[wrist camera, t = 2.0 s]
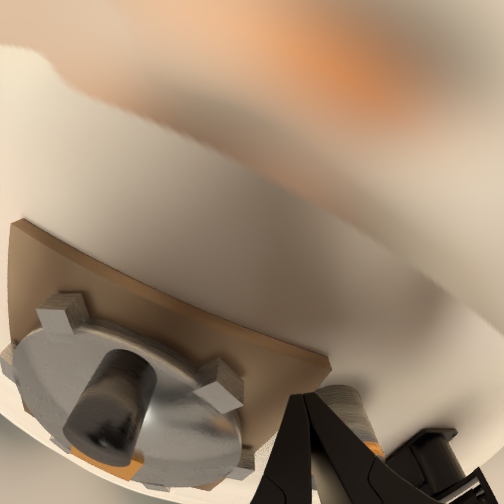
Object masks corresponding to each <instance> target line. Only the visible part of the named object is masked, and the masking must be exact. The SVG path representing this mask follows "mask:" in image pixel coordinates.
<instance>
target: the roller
mask: <svg viewBox="0 0 504 504" xmlns="http://www.w3.org/2000/svg"><path fill="white" fill-rule="evenodd" d="M314 392H316V393H317V394H318V395H319V396H320V397H321V398H322V400H323V401H324V402H325V403H326V404H327V405H328V406H329V407H330V408H331V409H332V410H333V411H334V412H335V413H336V414H337V415H338V417H339V418H340V419H341V420H342V421H343V422H344V423H345V424H346V425H347V426H348V427H349V428H350V429H351V430H352V431H353V432H354V433H355V434H356V435H357V436H358V437H359V438H360V439H361V440H362V441H363V442H364V443H365V444H366V445H367V446H368V447H369V448H370V449H371V450H372V451H373V452H374V453H375V454H376V456H378V457H379V458H380V459H381V460H382V461H383V462H384V463H385V461H386V460H385V456H384V454H383V451H382V449H381V446H380V445H379V444H378V441H377V438H376V436H375V433H374V431H373V428H372V426H371V423H370V421H369V418H368V416H367V413H366V411H365V408H364V406H363V403H362V401H361V398H360V396H359V394H358V392H357V391H356V390H355V389H354V388H352V387H349V386H345V385H333V386H328V387H324V388H321V389H318V390H316V391H314ZM311 472H312V469H311ZM312 489H313V490H317V487H316V484H315V480H314V476H313V473H312Z"/></svg>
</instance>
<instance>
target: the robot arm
mask: <svg viewBox="0 0 504 504" xmlns="http://www.w3.org/2000/svg"><path fill="white" fill-rule="evenodd" d="M457 433H458V432H457V430H456V429H425V430H423V431H421V432H420V433H419V434H417V435H416V436H415V437H414V438H413V439H412V440H411V441H410V442H408V443H407V444H406V445H405V446H404V447H402V448H401V449H400V450H399V451H398V452H396V453H395V454H394V455H393V456H391V457H390V458H389V459H388V460H386V461H385V463H384V462H383V461H382V460H381V459H380V458H379V457H378V456H376V454H375V453H374V452H373V451H372V450H371V449H370V448H369V447H368V446H367V445H366V444H365V443H364V442H363V441H362V440H361V439H360V438H359V437H358V436H357V435H356V434H355V433H354V432H353V431H352V430H351V429H350V428H349V427H348V426H347V425H346V424H345V423H344V422H343V421H342V420H341V419H340V418H339V417H338V415H337V414H336V413H335V412H334V411H333V410H332V409H331V408H330V407H329V406H328V405H327V404H326V403H325V402H324V401H323V400H322V398H321V397H320V396H319V395H318V394H317V393H316V392H307V393H304V394H303V395H302V394H301V393H299V394H291V395H290V396H289V399H288V403H287V406H286V409H285V412H284V415H283V419H282V422H281V425H280V428H279V431H278V434H277V437H276V440H275V443H274V446H273V448H272V451H271V454H270V457H269V460H268V462H267V465H266V468H265V471H264V473H263V474H264V475H263V476H262V478H261V481H260V483H259V486H258V488H257V490H256V493H255V495H254V497H253V499H252V501H251V502H250V504H312V473H313V476H314V480H315V484H316V487H317V491H318V495H319V498H320V502H321V504H445V503H446V502H448V501H449V500H451V499H453V498H454V497H456V496H457V495H459V494H460V493H462V492H463V491H465V490H467V489H468V488H469V487H471V486H472V485H474V484H475V483H477V482H478V481H479V483H480V484H479V485H478V486H477V487H475V488H474V489H470V490H469V491H467V492H466V493H464V494H463V495H462V496H460V497H458V498H457V499H455V500H454V501H452V502H450V503H449V504H498V502H497V500H496V498H495V496H494V494H493V492H492V490H491V488H490V486H489V485H488V483H487V481H486V479H485V477H484V475H483V473H482V471H481V470H480V468H479V467H478V468H476V469H475V470H474V471H473V472H472V473H471V474H469V475H468V476H467V477H466V476H465V474H464V472H463V470H462V468H461V466H460V464H459V462H458V460H457V458H456V456H455V454H454V452H453V451H452V449H451V447H450V445H449V443H448V442H449V441H450V440H451V439H452V438H453V437H455V436H456V435H457ZM311 469H312V472H311Z"/></svg>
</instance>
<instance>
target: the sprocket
mask: <svg viewBox="0 0 504 504" xmlns="http://www.w3.org/2000/svg"><path fill="white" fill-rule="evenodd" d="M36 311H37V314H38V317H39V319H40V322H41V323H40V324H38V325H37V326H36V327H35V328H34V329H33V330H32V331H31V332H30V333H29V334H28V335H27V336H26V337H25V338H24V339H23V340H22V341H21V342H20V343H19V344H18V346H16V345H15V344H14V343H12V342H11V343H10V344H9V345H8V346H7V347H6V348H5V349H4V350H3V352H2V353H1V354H0V363H1V367H2V372H3V374H4V375H5V376H6V377H8V378H9V379H10V380H12V381H13V382H14V383H15V384H16V386H17V388H18V390H19V393H20V395H21V397H22V399H23V400H24V402H25V404H26V405H27V407H28V408H29V410H30V411H31V413H32V414H33V415H34V417H35V418H36V419H37V420H38V422H39V423H40V424H41V425H42V426H43V427H44V428H45V429H46V430H47V431H48V432H49V433H50V434H51V437H50V439H49V440H51V441H52V442H53V443H54V444H56V445H57V446H58V447H59V448H61V449H62V450H63V451H64V452H66V453H67V454H73V455H75V456H76V457H78V458H80V459H82V460H84V461H86V462H88V463H89V464H91V465H93V466H95V467H97V468H99V469H101V470H104V471H106V472H108V473H110V474H112V475H114V476H117V477H119V478H121V479H124V480H126V481H128V482H129V481H130V480H132V481H136V482H140V483H142V484H143V485H144V486H145V487H146V488H147V489H151V490H157V491H164V492H170V487H193V486H200V485H205V484H209V483H212V482H215V481H218V480H220V479H222V478H224V477H226V478H231V479H236V480H241V481H242V480H243V479H245V478H246V477H247V476H248V475H250V474H251V473H252V472H254V471H255V462H254V451H251V450H246V449H242V448H241V444H242V429H241V421H240V418H239V414H238V412H237V410H236V408H239V407H241V406H244V381H243V380H242V379H241V378H240V377H239V376H238V375H237V374H236V373H235V372H234V371H233V370H232V369H231V368H230V367H229V366H228V365H227V364H226V363H225V362H224V361H223V360H222V359H221V358H220V357H218V358H217V359H215V360H213V361H211V362H209V363H207V364H205V365H203V366H201V367H198V366H196V365H195V364H193V363H192V362H191V361H189V360H188V359H186V358H185V357H184V356H182V355H181V354H179V353H177V352H176V351H174V350H172V349H171V348H169V347H167V346H166V345H164V344H162V343H160V342H158V341H156V340H154V339H152V338H150V337H148V336H146V335H144V334H142V333H139V332H137V331H134V330H132V329H130V328H127V327H125V326H122V325H119V324H116V323H113V322H109V321H106V320H102V319H97V318H93V317H89V314H88V311H87V308H86V305H85V302H84V299H83V296H82V293H73V294H52V295H51V296H50V297H49V298H48V299H46V300H45V301H44V302H43V303H42V304H41V305H39V306H38V307H37V308H36Z"/></svg>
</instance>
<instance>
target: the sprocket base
mask: <svg viewBox="0 0 504 504" xmlns="http://www.w3.org/2000/svg"><path fill="white" fill-rule="evenodd" d="M73 293H82V296H83V299H84V302H85V305H86V308H87V311H88V314H89V317H93V318H97V319H102V320H106V321H109V322H113V323H116V324H119V325H122V326H125V327H127V328H130V329H132V330H134V331H137V332H139V333H142V334H144V335H146V336H148V337H150V338H152V339H154V340H156V341H158V342H160V343H162V344H164V345H166V346H167V347H169V348H171V349H172V350H174V351H176V352H177V353H179V354H181V355H182V356H184V357H185V358H186V359H188V360H189V361H191V362H192V363H193V364H195V365H196V366H198V367H201V366H203V365H205V364H207V363H209V362H211V361H213V360H215V359H217V358H218V357H220V358H221V359H222V360H223V361H224V362H225V363H226V364H227V365H228V366H229V367H230V368H231V369H232V370H233V371H234V372H235V373H236V374H237V375H238V376H239V377H240V378H241V379H242V380H243V381H244V406H241V407H239V408H236V410H237V412H238V414H239V418H240V421H241V429H242V444H241V448H242V449H246V450H251V451H254V453H255V452H256V451H257V450H258V449H259V448H260V447H262V446H263V445H264V444H265V443H266V442H267V441H268V440H269V439H270V438H271V437H272V436H273V435H274V434H275V433H276V432H277V431H278V430H279V428H280V425H281V422H282V419H283V415H284V412H285V409H286V406H287V403H288V399H289V396H290V395H291V394H299V393H301V394H302V395H303V394H304V393H307V392H314V391H315V390H316V389H317V387H318V386H319V385H320V384H321V383H322V382H323V380H324V379H325V378H326V377H327V376H328V374H329V373H330V372H331V371H332V368H331V365H330V362H329V360H328V357H326V356H323V355H320V354H317V353H314V352H311V351H308V350H305V349H302V348H299V347H296V346H293V345H290V344H288V343H285V342H282V341H279V340H276V339H274V338H271V337H268V336H266V335H263V334H260V333H258V332H255V331H252V330H250V329H247V328H244V327H242V326H239V325H237V324H234V323H232V322H229V321H227V320H224V319H222V318H219V317H217V316H215V315H212V314H210V313H207V312H205V311H203V310H200V309H198V308H196V307H193V306H191V305H189V304H186V303H184V302H182V301H180V300H177V299H175V298H173V297H171V296H168V295H166V294H164V293H162V292H160V291H158V290H155V289H153V288H151V287H149V286H147V285H145V284H143V283H141V282H138V281H136V280H134V279H132V278H130V277H128V276H126V275H124V274H122V273H120V272H118V271H116V270H114V269H112V268H110V267H108V266H106V265H104V264H102V263H100V262H99V261H97V260H95V259H93V258H91V257H89V256H87V255H85V254H83V253H82V252H80V251H78V250H76V249H74V248H72V247H71V246H69V245H67V244H65V243H63V242H62V241H60V240H58V239H56V238H55V237H53V236H51V235H50V234H48V233H46V232H44V231H43V230H41V229H39V228H38V227H36V226H34V225H33V224H31V223H29V222H28V221H26V220H24V219H21V220H18V221H16V222H13V223H11V227H10V237H9V250H8V312H9V326H10V336H11V342H12V343H14V344H15V345H16V346H18V344H19V343H20V342H21V341H22V340H23V339H24V338H25V337H26V336H27V335H28V334H29V333H30V332H31V331H32V330H33V329H34V328H35V327H36V326H37V325H38V324H40V323H41V322H40V319H39V317H38V314H37V311H36V308H37V307H38V306H39V305H41V304H42V303H43V302H44V301H45V300H46V299H48V298H49V297H50V296H51V295H52V294H73ZM21 398H22V397H21ZM22 402H23V406H24V410H25V411H26V412H27V413H29V414H30V415H32V416H33V417H34V415H33V414H32V413H31V411H30V410H29V408H28V407H27V405H26V404H25V402H24V400H23V399H22ZM225 478H226V477H224V478H222V479H220V480H218V481H215V482H212V483H209V484H205V485H200V486H193V488H197V489H201V490H206V491H210V490H212V489H213V488H214V487H215V486H217V485H218V484H219V483H220V482H222V481H223V480H224V479H225Z"/></svg>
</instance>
